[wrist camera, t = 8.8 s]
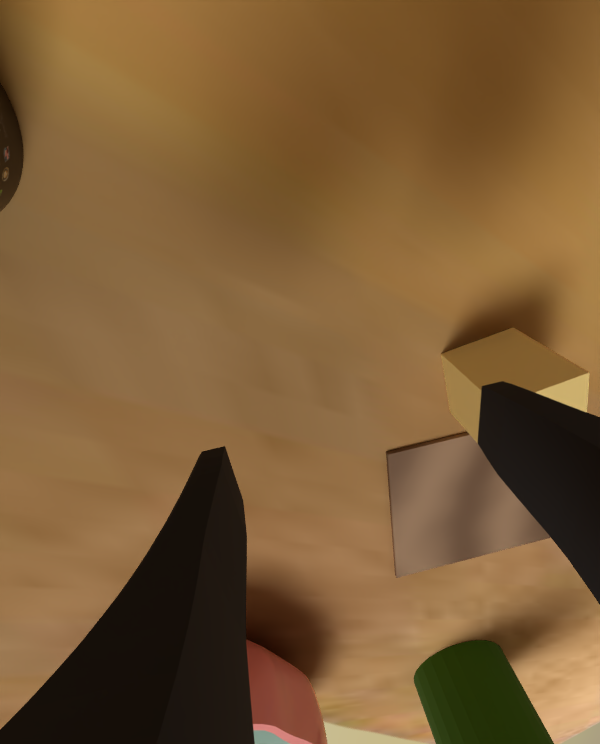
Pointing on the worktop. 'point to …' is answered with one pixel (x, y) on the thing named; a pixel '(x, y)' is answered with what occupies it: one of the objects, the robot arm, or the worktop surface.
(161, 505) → the worktop surface
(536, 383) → the ochre block
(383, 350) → the worktop surface
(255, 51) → the worktop surface
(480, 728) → the wine bottle
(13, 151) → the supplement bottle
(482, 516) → the walnut base
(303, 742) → the cell model
